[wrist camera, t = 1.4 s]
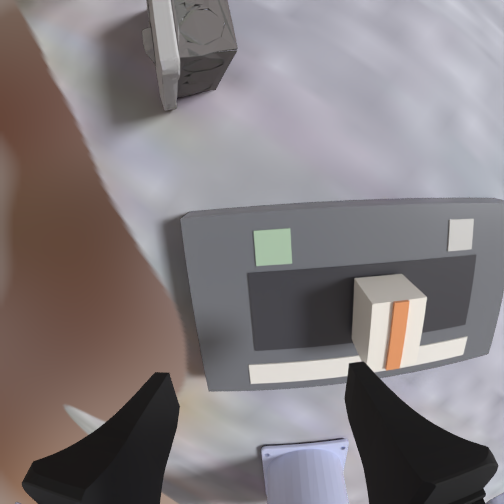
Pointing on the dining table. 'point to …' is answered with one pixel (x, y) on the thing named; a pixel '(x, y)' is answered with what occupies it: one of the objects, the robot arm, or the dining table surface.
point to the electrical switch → (188, 45)
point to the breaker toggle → (387, 321)
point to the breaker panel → (337, 284)
